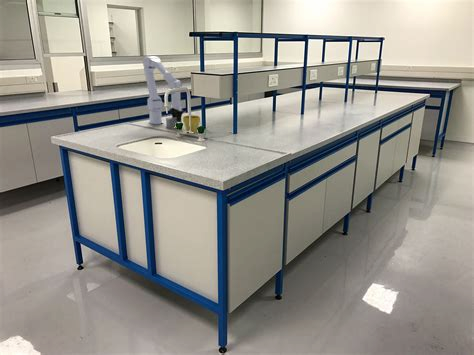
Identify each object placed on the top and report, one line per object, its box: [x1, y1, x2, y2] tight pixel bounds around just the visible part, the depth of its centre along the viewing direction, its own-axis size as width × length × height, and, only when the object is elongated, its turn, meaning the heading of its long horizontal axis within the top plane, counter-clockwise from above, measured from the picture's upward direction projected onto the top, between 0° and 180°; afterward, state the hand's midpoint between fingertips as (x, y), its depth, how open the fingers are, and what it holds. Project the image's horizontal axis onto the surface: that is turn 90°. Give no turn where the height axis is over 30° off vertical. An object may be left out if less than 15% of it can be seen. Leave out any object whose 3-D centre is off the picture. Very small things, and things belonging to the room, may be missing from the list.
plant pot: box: [182, 114, 201, 133], centre depth 231 cm, size 10×10×10 cm
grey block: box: [165, 116, 183, 129], centre depth 246 cm, size 6×8×6 cm
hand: (176, 120), depth 247 cm, fingers open, 7 cm apart
